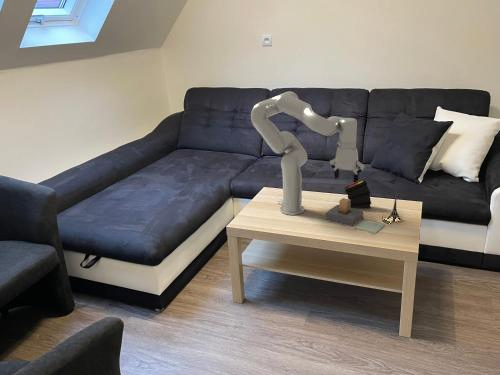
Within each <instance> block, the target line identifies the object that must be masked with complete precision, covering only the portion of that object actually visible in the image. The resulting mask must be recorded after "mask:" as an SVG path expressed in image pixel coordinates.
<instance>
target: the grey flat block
mask: <svg viewBox="0 0 500 375" xmlns="http://www.w3.org/2000/svg"><path fill="white" fill-rule="evenodd" d="M362 219H364V210H363V209H360V208H350V213H348V214H343V213H339V204H335V206H333V207H331V208H330V209H329V210H327V211H326V212H325V221H329V222H332V223H336V224H341V225H345V226H349V227H353V226H355V225H356V224H358V223H359V221H361V220H362Z"/></svg>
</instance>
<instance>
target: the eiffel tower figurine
mask: <svg viewBox="0 0 500 375" xmlns="http://www.w3.org/2000/svg"><path fill="white" fill-rule="evenodd" d="M391 217H393V221H392V222H391V223H390V221H387V220H385V219H384V220H383V217H382V219H381V222H382V223H384V224H386V225H392V223H394V222H395V219H396V218H398V219H399V220H401V221H402V219H401V217H400V215H399V213H398V210H397V196H395V197H394V203H393V209H392V211H391V213H390V214H389V215H388V217H386V218H387V219H389V218H391ZM389 223H390V224H389ZM395 223H396V222H395Z"/></svg>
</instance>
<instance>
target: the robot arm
mask: <svg viewBox="0 0 500 375" xmlns="http://www.w3.org/2000/svg"><path fill="white" fill-rule="evenodd" d="M280 113H284V114H287V115H289V116H291V117H294V118H295V119H297V120H299V121H301V122H302V123H303V124H304V125H305V126H306V127H308V128H309V129H311V131H314V132H315V133H318V134H320V135H322V136H325V137H331V136H333V135H335V134H336V133H339V140H338V141H336V145H338V146H337V148H336V152H335V157H334V158H333V159H331V160H329V164H330V166H331V168H332V169H333V171H334V174H333V175H334V179H335V180H337V179H339V178H340V170H346V171H353V173H354V174H353V184H354V183H356V182H359V177H360V173H361V172H363V171H364V169H365V166H366V165H364V164H363V163H362V162H360V161H359V152H358V148H357V130H358V129H357V128H358V121H357V119H356V118H353V117H342V116H341V117H340V116H337V115H336V116H335V115H334V116H333V115H332V116H329V117H328V118H325V117H323V116H321V115H319V114H317V113H316V112H315V111H313V109H312V105H311V104H309V103H308V102H305V101H303V100H301V99H299V97H298V95H297V93H295V92H294V91H290V90H289V91H288V90H287V91H286V92H283V93H280V94H279V95H276V96H274V97H271V98H268V99H264V100H263V101H262V100H261V101H260V102H258V103H256V104H255V105H254V106H253V108H252V109H251V111H250V121H251V124H252V126H253V127H254V128H255V130H256V131H257V132H258V133H259V134H260V136H261V137H262V138H263V140H264V141H265V142H266V144H267V145H268V146H269V148H270V149H271V150H272V152H274V153H275V154H283V153H285V154H283V156H282V158H281V161H280V166H281V172H282V199H278V201H277V205H280V206H281V207H280V212H281V213H282V214H284V215H287V216H297V215H301V214H303V213H304V212H305V211H306V210H305V207H304V206H303V205H302V197H303V195H302V193H303V191H302V189H303V188H302V187H303V186H302V182H303V181H302V180H303V179H302V178H303V177H302V172H301V167H302V166H304V164H305V163H306V162H307V160H308V153H307V151H306V150H305V148H304V147H303V145H302V144H301V142H300V141H299V140H298V139H297V138H296V136H295V135H294V134H293V133H291V132H290V131H286V130H283V131H280V130H279V129H278V127H277V125H276V124H274V123H273V122H272V121H271V120H270V119H269V118H270V117H272V116H275V115H277V114H280ZM359 167H360V168H359Z"/></svg>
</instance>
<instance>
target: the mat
mask: <svg viewBox="0 0 500 375" xmlns="http://www.w3.org/2000/svg"><path fill="white" fill-rule="evenodd" d="M384 226H385V224H382V223H378V222H373V221H369V220H366V219H364V220H362V221H361V222H360V223H358V225H356V226H355V227H354V229H355V230H356V229H357V230H361V231H363V232H369V233H372V234H374V235H375V234H377V233H378V232H379V231H380V230H381V229H382V228H383V227H384Z"/></svg>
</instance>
